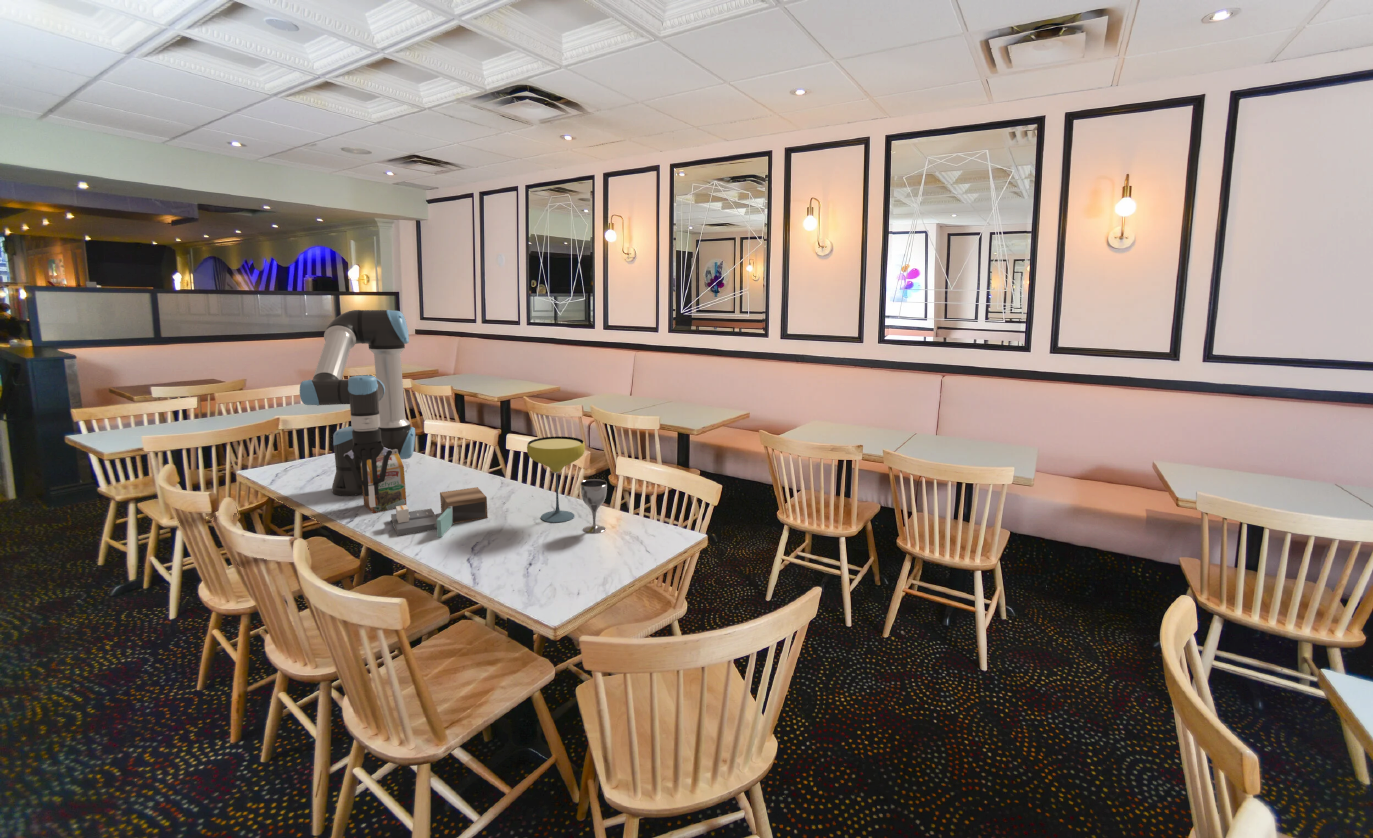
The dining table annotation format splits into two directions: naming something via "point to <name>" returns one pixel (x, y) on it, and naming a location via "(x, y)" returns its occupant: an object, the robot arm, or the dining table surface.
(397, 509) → the fader knob
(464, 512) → the box
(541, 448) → the cocktail glass
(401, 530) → the mixer strip
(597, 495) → the wine glass
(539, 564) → the dining table surface
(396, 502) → the milk carton
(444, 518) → the rack door
